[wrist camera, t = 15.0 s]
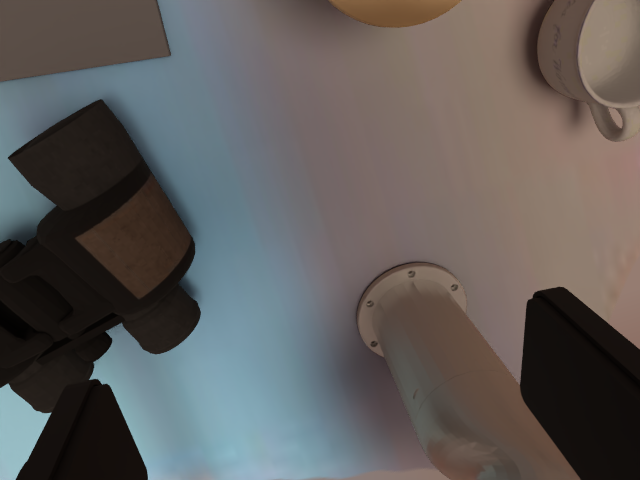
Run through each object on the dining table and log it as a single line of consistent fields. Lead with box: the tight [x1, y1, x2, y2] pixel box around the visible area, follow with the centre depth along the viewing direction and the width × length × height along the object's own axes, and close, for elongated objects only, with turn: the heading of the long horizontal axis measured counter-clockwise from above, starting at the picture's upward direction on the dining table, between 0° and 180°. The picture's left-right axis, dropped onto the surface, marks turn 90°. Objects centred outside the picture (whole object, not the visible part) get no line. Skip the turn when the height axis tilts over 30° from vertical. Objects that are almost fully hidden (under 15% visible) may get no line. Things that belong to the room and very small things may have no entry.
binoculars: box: [0, 99, 201, 413], centre depth 40 cm, size 29×20×10 cm
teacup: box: [537, 0, 640, 142], centre depth 39 cm, size 14×11×8 cm
